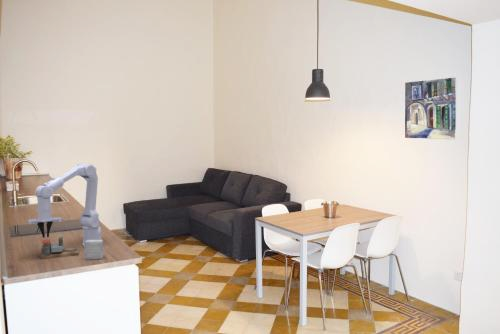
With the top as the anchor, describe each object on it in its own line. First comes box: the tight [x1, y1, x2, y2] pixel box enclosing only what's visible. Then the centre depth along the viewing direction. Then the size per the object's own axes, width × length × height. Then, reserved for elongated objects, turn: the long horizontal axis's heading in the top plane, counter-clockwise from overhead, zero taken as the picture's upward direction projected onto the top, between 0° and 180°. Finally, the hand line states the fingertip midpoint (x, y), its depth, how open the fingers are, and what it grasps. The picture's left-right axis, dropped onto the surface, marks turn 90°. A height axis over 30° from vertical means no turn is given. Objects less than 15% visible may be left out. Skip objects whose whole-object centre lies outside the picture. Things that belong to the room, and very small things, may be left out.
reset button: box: [41, 238, 51, 244], centre depth 201 cm, size 4×4×1 cm
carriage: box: [51, 236, 64, 252], centre depth 203 cm, size 5×7×6 cm
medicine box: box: [83, 239, 105, 260], centre depth 198 cm, size 8×4×9 cm, turn 92°
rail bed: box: [39, 241, 80, 260], centre depth 204 cm, size 17×10×5 cm, turn 111°
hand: (45, 237), depth 201 cm, fingers closed
